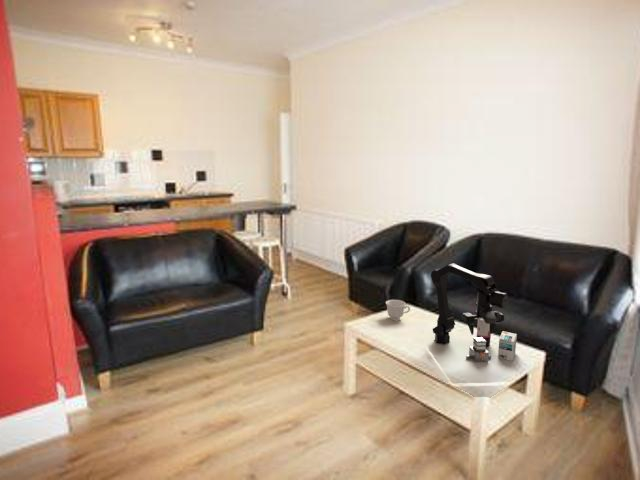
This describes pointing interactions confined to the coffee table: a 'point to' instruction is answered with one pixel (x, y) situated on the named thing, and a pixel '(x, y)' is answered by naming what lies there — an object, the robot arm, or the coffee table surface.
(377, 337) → the coffee table surface
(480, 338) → the column
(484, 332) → the beverage can
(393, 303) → the teacup
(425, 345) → the coffee table surface
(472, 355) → the stand base
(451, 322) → the robot arm
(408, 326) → the coffee table surface
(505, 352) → the light bulb box
